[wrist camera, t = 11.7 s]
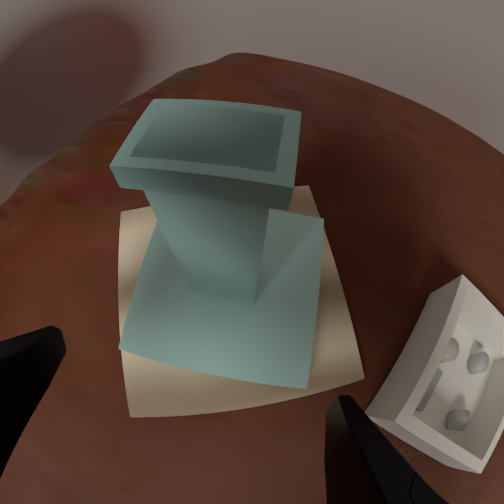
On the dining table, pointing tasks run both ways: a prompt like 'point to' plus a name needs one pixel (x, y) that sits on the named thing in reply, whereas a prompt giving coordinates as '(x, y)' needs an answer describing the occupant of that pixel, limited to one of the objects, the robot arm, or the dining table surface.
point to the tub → (448, 380)
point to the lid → (222, 242)
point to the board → (221, 388)
